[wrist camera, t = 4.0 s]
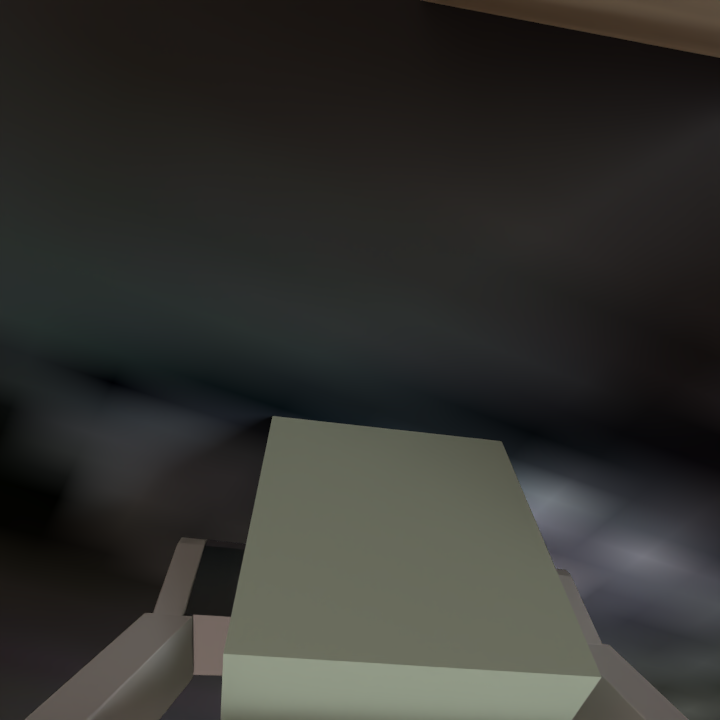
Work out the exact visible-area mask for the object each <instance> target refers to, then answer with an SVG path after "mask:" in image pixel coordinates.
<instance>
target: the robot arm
mask: <svg viewBox="0 0 720 720" xmlns="http://www.w3.org/2000/svg"><path fill="white" fill-rule="evenodd" d="M245 547H246V544H243V543H234V542H225V541H216V540H206V539H195V538H185V537H182V538H181V539H180V541H179V542H178V544H177V546H176V549H175V552H174V555H173V557H172V560H171V563H170V566H169V569H168V571H167V574H166V577H165V580H164V583H163V586H162V588H161V591H160V594H159V597H158V600H157V602H156V605H155V608H154V611H153V613H144V614H143V615H142V616H141V617H139V618H138V619H137V620H136V621H135V622H134V623H133V624H132V625H130V626H129V627H128V628H127V629H126V630H125V631H124V632H122V633H121V634H120V635H119V636H118V637H117V638H116V639H115V640H113V641H112V642H111V643H110V644H109V645H108V646H107V647H106V648H104V649H103V650H102V651H101V652H100V653H99V654H98V655H97V656H95V657H94V658H93V659H92V660H91V661H90V662H89V663H88V664H86V665H85V666H84V667H83V668H82V669H81V670H80V671H79V672H77V673H76V674H75V675H74V676H73V677H72V678H71V679H70V680H68V681H67V682H66V683H65V684H64V685H63V686H62V687H61V688H59V689H58V690H57V691H56V692H55V693H54V694H53V695H52V696H50V697H49V698H48V699H47V700H46V701H45V702H44V703H43V704H41V705H40V706H39V707H38V708H37V709H36V710H35V711H34V712H32V713H31V714H30V715H29V716H28V717H27V718H26V719H25V720H159V719H160V718H161V717H162V715H163V714H164V713H165V712H166V711H167V709H168V708H169V707H170V706H171V704H172V703H173V702H174V701H175V699H176V698H177V697H178V696H179V694H180V693H181V692H182V691H183V689H184V688H185V687H186V686H187V684H188V683H189V682H190V681H191V679H192V678H193V675H222V673H223V653H224V648H225V643H226V638H227V633H228V629H229V624H230V619H231V614H232V609H233V604H234V600H235V595H236V590H237V585H238V580H239V576H240V571H241V566H242V561H243V556H244V551H245ZM556 571H557V573H558V576H559V578H560V580H561V583H562V585H563V587H564V590H565V592H566V594H567V597H568V599H569V601H570V604H571V606H572V609H573V611H574V613H575V616H576V618H577V620H578V623H579V625H580V627H581V630H582V632H583V634H584V637H585V639H586V642H587V644H588V646H589V649H590V651H591V653H592V656H593V658H594V660H595V663H596V665H597V667H598V670H599V672H600V675H601V679H600V680H599V682H598V683H597V685H596V686H595V687H594V689H593V690H592V692H591V693H590V695H589V696H588V697H587V699H586V700H585V702H584V703H583V705H582V706H581V707H580V709H579V710H578V712H577V713H576V715H575V716H574V717H573V719H572V720H688V719H687V718H686V717H685V716H684V715H683V714H682V713H681V712H680V711H679V710H678V709H677V708H676V707H675V706H673V705H672V704H671V703H670V702H669V701H668V700H667V699H666V698H665V697H664V696H663V695H662V694H661V693H660V692H659V691H658V690H657V689H655V688H654V687H653V686H652V685H651V684H650V683H649V682H648V681H647V680H646V679H645V678H644V677H643V676H642V675H641V674H640V673H638V672H637V671H636V670H635V669H634V668H633V667H632V666H631V665H630V664H629V663H628V662H627V661H626V660H625V659H624V658H623V657H622V656H620V655H619V654H618V653H617V652H616V651H615V650H614V649H613V648H612V647H611V646H610V645H607V644H602V643H601V640H600V638H599V636H598V634H597V632H596V629H595V627H594V625H593V623H592V621H591V619H590V616H589V614H588V612H587V610H586V608H585V605H584V603H583V601H582V599H581V597H580V595H579V592H578V590H577V588H576V586H575V584H574V581H573V579H572V577H571V575H570V574H569V573H568V572H567V571H566V570H562V569H556Z"/></svg>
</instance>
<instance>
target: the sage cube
mask: <svg viewBox="0 0 720 720" xmlns="http://www.w3.org/2000/svg"><path fill="white" fill-rule="evenodd" d="M600 679H601V675H600V672H599V670H598V667H597V665H596V663H595V660H594V658H593V656H592V653H591V651H590V649H589V646H588V644H587V642H586V639H585V637H584V634H583V632H582V630H581V627H580V625H579V623H578V620H577V618H576V616H575V613H574V611H573V609H572V606H571V604H570V601H569V599H568V597H567V594H566V592H565V590H564V587H563V585H562V583H561V580H560V578H559V576H558V573H557V571H556V569H555V566H554V564H553V561H552V559H551V557H550V554H549V552H548V550H547V547H546V545H545V543H544V540H543V538H542V536H541V533H540V531H539V528H538V526H537V524H536V521H535V519H534V517H533V514H532V512H531V510H530V507H529V505H528V503H527V500H526V498H525V495H524V493H523V491H522V488H521V486H520V484H519V481H518V479H517V477H516V474H515V472H514V470H513V467H512V465H511V463H510V460H509V458H508V455H507V453H506V451H505V448H504V446H503V444H502V441H495V440H486V439H477V438H467V437H458V436H449V435H440V434H431V433H422V432H413V431H404V430H394V429H385V428H376V427H367V426H358V425H349V424H340V423H331V422H321V421H312V420H303V419H294V418H285V417H276V416H272V421H271V426H270V431H269V435H268V440H267V445H266V450H265V455H264V460H263V464H262V469H261V474H260V479H259V484H258V489H257V493H256V498H255V503H254V508H253V513H252V518H251V522H250V527H249V532H248V537H247V542H246V547H245V551H244V556H243V561H242V566H241V571H240V576H239V580H238V585H237V590H236V595H235V600H234V604H233V609H232V614H231V619H230V624H229V629H228V633H227V638H226V643H225V648H224V653H223V673H222V698H221V720H572V719H573V717H574V716H575V715H576V713H577V712H578V710H579V709H580V707H581V706H582V705H583V703H584V702H585V700H586V699H587V697H588V696H589V695H590V693H591V692H592V690H593V689H594V687H595V686H596V685H597V683H598V682H599V680H600Z"/></svg>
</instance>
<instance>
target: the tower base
mask: <svg viewBox="0 0 720 720" xmlns="http://www.w3.org/2000/svg"><path fill="white" fill-rule="evenodd" d="M422 1H427V2H432V3H437V4H442V5H448V6H453V7H458V8H463V9H468V10H474V11H479V12H484V13H489V14H494V15H500V16H505V17H510V18H515V19H520V20H526V21H531V22H536V23H541V24H546V25H552V26H557V27H562V28H567V29H572V30H578V31H583V32H588V33H593V34H598V35H603V36H609V37H614V38H619V39H624V40H629V41H635V42H640V43H645V44H650V45H655V46H661V47H666V48H671V49H676V50H681V51H687V52H692V53H697V54H702V55H707V56H713V57H718V58H720V0H422Z"/></svg>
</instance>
